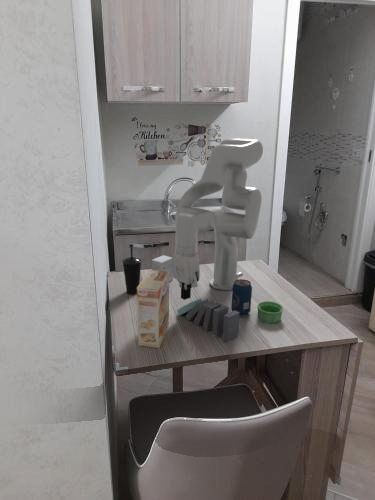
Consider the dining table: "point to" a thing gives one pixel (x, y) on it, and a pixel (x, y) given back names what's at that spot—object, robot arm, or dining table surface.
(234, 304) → the soda can
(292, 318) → the dining table surface
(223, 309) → the tile
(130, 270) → the drinking cup
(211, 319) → the tile
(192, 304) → the teal tile
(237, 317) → the tile
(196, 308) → the tile
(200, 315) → the tile
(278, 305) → the ramekin
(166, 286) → the coffeecake box
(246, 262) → the dining table surface
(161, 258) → the small box
